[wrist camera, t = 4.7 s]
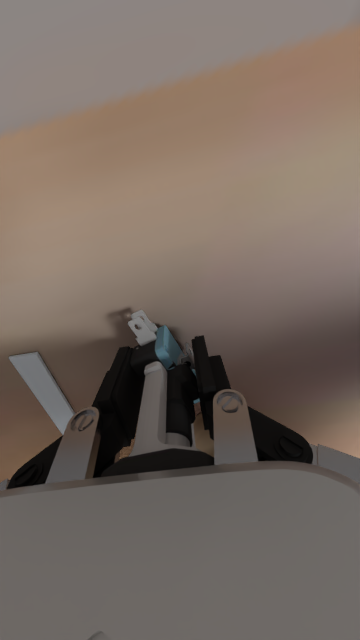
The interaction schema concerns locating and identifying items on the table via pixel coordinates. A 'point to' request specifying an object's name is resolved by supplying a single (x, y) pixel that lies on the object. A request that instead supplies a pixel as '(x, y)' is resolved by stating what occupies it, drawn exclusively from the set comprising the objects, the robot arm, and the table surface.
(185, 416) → the push button
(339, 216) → the table surface
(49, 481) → the robot arm
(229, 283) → the table surface
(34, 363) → the flat metal tool blade
